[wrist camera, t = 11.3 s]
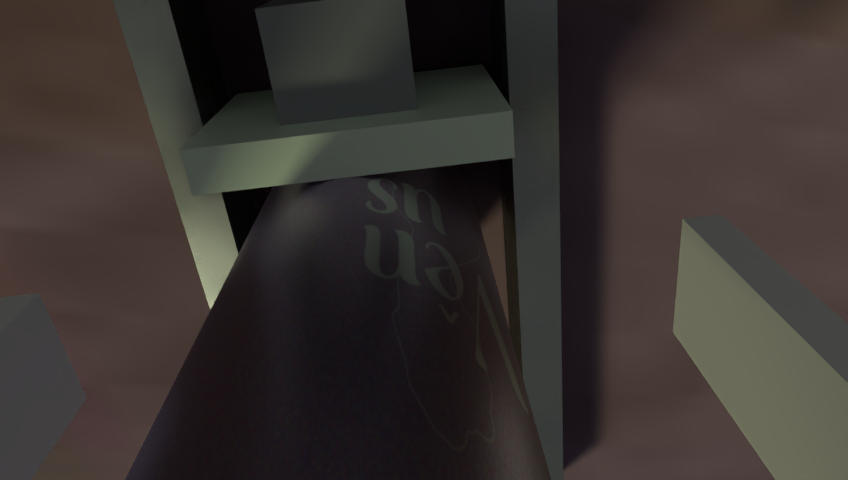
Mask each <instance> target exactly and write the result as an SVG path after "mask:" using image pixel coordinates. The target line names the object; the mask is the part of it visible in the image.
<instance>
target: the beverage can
mask: <svg viewBox="0 0 848 480" xmlns="http://www.w3.org/2000/svg"><path fill="white" fill-rule="evenodd" d="M125 480H551V477H550V474H549V470H548V466H547V463H546V459H545V456H544V452H543V449H542V445H541V442H540V438H539V434H538V431H537V427H536V424H535V420H534V417H533V413H532V410H531V406H530V402H529V399H528V395H527V392H526V388H525V385H524V381H523V377H522V374H521V370H520V367H519V363H518V360H517V356H516V353H515V349H514V345H513V342H512V338H511V335H510V331H509V328H508V324H507V321H506V317H505V313H504V310H503V306H502V303H501V299H500V296H499V292H498V289H497V285H496V281H495V278H494V274H493V271H492V267H491V264H490V260H489V256H488V253H487V249H486V246H485V242H484V239H483V235H482V232H481V228H480V224H479V221H478V217H477V214H476V210H475V207H474V203H473V200H472V196H471V192H470V189H469V186H468V183H467V181H466V178H465V176H464V174H463V172H462V171H461V169H460V167H459V166H458V165H450V166H442V167H433V168H425V169H416V170H407V171H399V172H390V173H382V174H373V175H365V176H356V177H348V178H339V179H331V180H322V181H314V182H305V183H297V184H288V185H280V186H273V187H272V189H271V191H270V193H269V195H268V197H267V199H266V201H265V203H264V205H263V207H262V208H261V210H260V212H259V214H258V216H257V218H256V220H255V222H254V224H253V226H252V228H251V230H250V232H249V234H248V236H247V238H246V240H245V242H244V244H243V246H242V248H241V250H240V252H239V254H238V256H237V258H236V260H235V262H234V264H233V266H232V268H231V270H230V272H229V274H228V276H227V278H226V280H225V282H224V284H223V286H222V288H221V290H220V292H219V294H218V296H217V298H216V300H215V302H214V304H213V306H212V308H211V310H210V312H209V314H208V316H207V318H206V320H205V322H204V324H203V326H202V328H201V330H200V332H199V334H198V336H197V338H196V340H195V342H194V344H193V346H192V348H191V350H190V352H189V354H188V356H187V358H186V360H185V362H184V364H183V366H182V368H181V370H180V372H179V374H178V376H177V378H176V380H175V382H174V384H173V386H172V388H171V390H170V392H169V394H168V396H167V398H166V400H165V402H164V404H163V406H162V408H161V410H160V412H159V414H158V415H157V417H156V419H155V421H154V423H153V425H152V427H151V429H150V431H149V433H148V435H147V437H146V439H145V441H144V443H143V445H142V447H141V449H140V451H139V453H138V455H137V457H136V459H135V461H134V463H133V465H132V467H131V469H130V471H129V473H128V475H127V477H126V479H125Z"/></svg>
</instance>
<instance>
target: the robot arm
mask: <svg viewBox="0 0 848 480" xmlns="http://www.w3.org/2000/svg"><path fill="white" fill-rule="evenodd" d="M673 333H674V334H675V336H676V337H677V338H678V340H679V341H680V343H681V344H682V346H683V347H684V349H685V350H686V351H687V353H688V354H689V356H690V357H691V359H692V360H693V362H694V363H695V364H696V366H697V367H698V369H699V370H700V372H701V373H702V375H703V376H704V377H705V379H706V380H707V382H708V383H709V385H710V386H711V387H712V389H713V390H714V392H715V393H716V395H717V396H718V398H719V399H720V400H721V402H722V403H723V405H724V406H725V408H726V409H727V411H728V412H729V413H730V415H731V416H732V418H733V419H734V421H735V422H736V424H737V425H738V426H739V428H740V429H741V431H742V432H743V434H744V435H745V437H746V438H747V439H748V441H749V442H750V444H751V445H752V447H753V448H754V450H755V451H756V452H757V454H758V455H759V457H760V458H761V460H762V461H763V462H764V464H765V465H766V467H767V468H768V470H769V471H770V473H771V474H772V475H773V477H774V478H775V480H848V324H847V323H846V322H845V321H844V320H843V319H841V318H840V317H839V316H838V315H837V314H836V313H834V312H833V311H832V310H831V309H830V308H829V307H828V306H826V305H825V304H824V303H823V302H822V301H821V300H819V299H818V298H817V297H816V296H815V295H814V294H812V293H811V292H810V291H809V290H808V289H807V288H806V287H804V286H803V285H802V284H801V283H800V282H799V281H797V280H796V279H795V278H794V277H793V276H792V275H790V274H789V273H788V272H787V271H786V270H785V269H784V268H782V267H781V266H780V265H779V264H778V263H777V262H775V261H774V260H773V259H772V258H771V257H770V256H768V255H767V254H766V253H765V252H764V251H763V250H762V249H760V248H759V247H758V246H757V245H756V244H755V243H753V242H752V241H751V240H750V239H749V238H748V237H746V236H745V235H744V234H743V233H742V232H741V231H739V230H738V229H737V228H736V227H735V226H734V225H733V224H731V223H730V222H729V221H728V220H727V219H726V218H724V217H723V216H722V215H721V214H719V215H711V216H702V217H693V218H685V219H683V220H682V231H681V243H680V255H679V267H678V278H677V290H676V302H675V314H674V325H673ZM86 398H87V397H86V395H85V393H84V391H83V389H82V386H81V384H80V382H79V380H78V378H77V375H76V373H75V371H74V369H73V367H72V364H71V362H70V360H69V358H68V356H67V353H66V351H65V349H64V347H63V345H62V342H61V340H60V338H59V336H58V334H57V331H56V329H55V327H54V325H53V323H52V320H51V318H50V316H49V314H48V312H47V310H46V307H45V305H44V303H43V301H42V299H41V296H40V294H39V293H34V294H26V295H17V296H8V297H2V298H1V299H0V480H32V478H33V477H34V475H35V474H36V472H37V471H38V469H39V468H40V466H41V465H42V463H43V462H44V460H45V459H46V457H47V456H48V454H49V453H50V452H51V450H52V449H53V447H54V446H55V444H56V443H57V441H58V440H59V438H60V437H61V435H62V434H63V432H64V431H65V429H66V428H67V426H68V425H69V423H70V422H71V420H72V419H73V417H74V416H75V414H76V413H77V412H78V410H79V409H80V407H81V406H82V404H83V403H84V401H85V400H86Z"/></svg>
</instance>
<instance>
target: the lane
mask: <svg viewBox="0 0 848 480" xmlns="http://www.w3.org/2000/svg"><path fill="white" fill-rule="evenodd" d="M490 1H491V18H492V35H493V52H494V70H495V84H496V86H497V87H498V89H499V91H500V92H501V94H502V95H503V97H504V98H505V100H506V101H507V103H508V104H509V106H510V107H511V109H512V110H513V128H514V149H515V158H510V159H501V160H500V173H501V190H502V207H503V225H504V242H505V259H506V276H507V294H508V311H509V328H510V335H511V338H512V342H513V345H514V349H515V353H516V356H517V360H518V363H519V367H520V370H521V374H522V377H523V381H524V385H525V388H526V392H527V395H528V399H529V402H530V406H531V410H532V413H533V417H534V420H535V424H536V427H537V431H538V434H539V438H540V442H541V445H542V449H543V452H544V456H545V459H546V463H547V466H548V470H549V474H550V477H551V480H563V411H562V332H561V253H560V173H559V94H558V15H557V0H490ZM113 2H114V5H115V8H116V12H117V15H118V18H119V21H120V24H121V28H122V31H123V34H124V37H125V40H126V43H127V47H128V50H129V53H130V56H131V59H132V63H133V66H134V69H135V72H136V75H137V78H138V82H139V85H140V88H141V91H142V94H143V97H144V101H145V104H146V107H147V110H148V113H149V117H150V120H151V123H152V126H153V129H154V132H155V136H156V139H157V142H158V145H159V148H160V152H161V155H162V158H163V161H164V164H165V167H166V171H167V174H168V177H169V180H170V183H171V186H172V190H173V193H174V196H175V199H176V202H177V206H178V209H179V212H180V215H181V218H182V221H183V225H184V228H185V231H186V234H187V237H188V241H189V244H190V247H191V250H192V253H193V256H194V260H195V263H196V266H197V269H198V272H199V275H200V279H201V282H202V285H203V288H204V291H205V295H206V298H207V301H208V304H209V307H210V310H211V308H212V306H213V304H214V302H215V300H216V298H217V296H218V294H219V292H220V290H221V288H222V286H223V284H224V282H225V280H226V278H227V276H228V274H229V272H230V270H231V268H232V266H233V264H234V262H235V260H236V258H237V256H238V254H239V252H240V250H241V248H242V246H243V244H244V242H245V240H246V238H247V236H248V234H249V232H250V230H251V228H252V226H253V224H254V222H255V220H256V218H257V213H256V209H255V205H254V201H253V197H252V193H251V189H246V190H237V191H229V192H220V193H211V194H203V195H194V196H193V195H192V192H191V188H190V185H189V182H188V178H187V175H186V172H185V168H184V165H183V162H182V158H181V155H180V152H179V150H180V149H181V148H182V147H183V146H184V145H185V144H186V143H187V142H188V141H189V140H190V139H191V138H192V137H193V136H194V135H195V134H196V133H197V132H198V131H199V130H200V129H201V128H202V127H203V126H204V125H205V124H206V123H208V122H209V121H210V120H211V119H212V118H213V117H214V116H215V115H216V114H217V113H218V112H219V111H220V110H221V109H222V108H223V107H224V106H225V105H226V104H227V103H228V98H227V94H226V91H225V87H224V83H223V79H222V75H221V71H220V67H219V63H218V59H217V55H216V51H215V47H214V43H213V39H212V35H211V31H210V27H209V24H208V20H207V16H206V12H205V8H204V4H203V0H113Z"/></svg>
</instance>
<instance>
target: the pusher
mask: <svg viewBox="0 0 848 480" xmlns="http://www.w3.org/2000/svg"><path fill="white" fill-rule="evenodd" d="M255 13H256V18H257V22H258V27H259V31H260V36H261V40H262V45H263V50H264V54H265V59H266V63H267V68H268V72H269V77H270V81H271V86H272V90H264V91H255V92H247V93H239V94H236V95H235V96H234V97H233V98H232V99H231V100H230V101H229V102H228V103H227V104H226V105H225V106H224V107H223V108H222V109H221V110H220V111H219V112H218V113H217V114H216V115H215V116H214V117H213V118H212V119H211V120H210V121H209V122H208V123H206V124H205V125H204V126H203V127H202V128H201V129H200V130H199V131H198V132H197V133H196V134H195V135H194V136H193V137H192V138H191V139H190V140H189V141H188V142H187V143H186V144H185V145H184V146H183V147H182V148H181V149H180V150H179V152H180V155H181V158H182V162H183V165H184V168H185V172H186V175H187V178H188V182H189V185H190V188H191V192H192V195H193V196H194V195H203V194H211V193H220V192H229V191H237V190H246V189H254V188H263V187H271V186H280V185H288V184H297V183H305V182H314V181H322V180H331V179H339V178H348V177H356V176H365V175H373V174H382V173H390V172H399V171H407V170H416V169H425V168H433V167H442V166H450V165H459V164H467V163H476V162H484V161H493V160H501V159H510V158H515V149H514V128H513V110H512V109H511V107H510V106H509V104H508V103H507V101H506V100H505V98H504V97H503V95H502V94H501V92H500V91H499V89H498V87H497V86H496V84H495V83H494V81H493V80H492V78H491V77H490V75H489V74H488V72H487V71H486V69H485V68H484V66H483V65H482V64H481V65H472V66H464V67H456V68H447V69H439V70H431V71H422V72H414V73H413V65H412V56H411V47H410V39H409V30H408V21H407V13H406V4H405V0H271V1H269V2H267V3H265V4H263V5H261V6H259V7H257V8H255Z"/></svg>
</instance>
